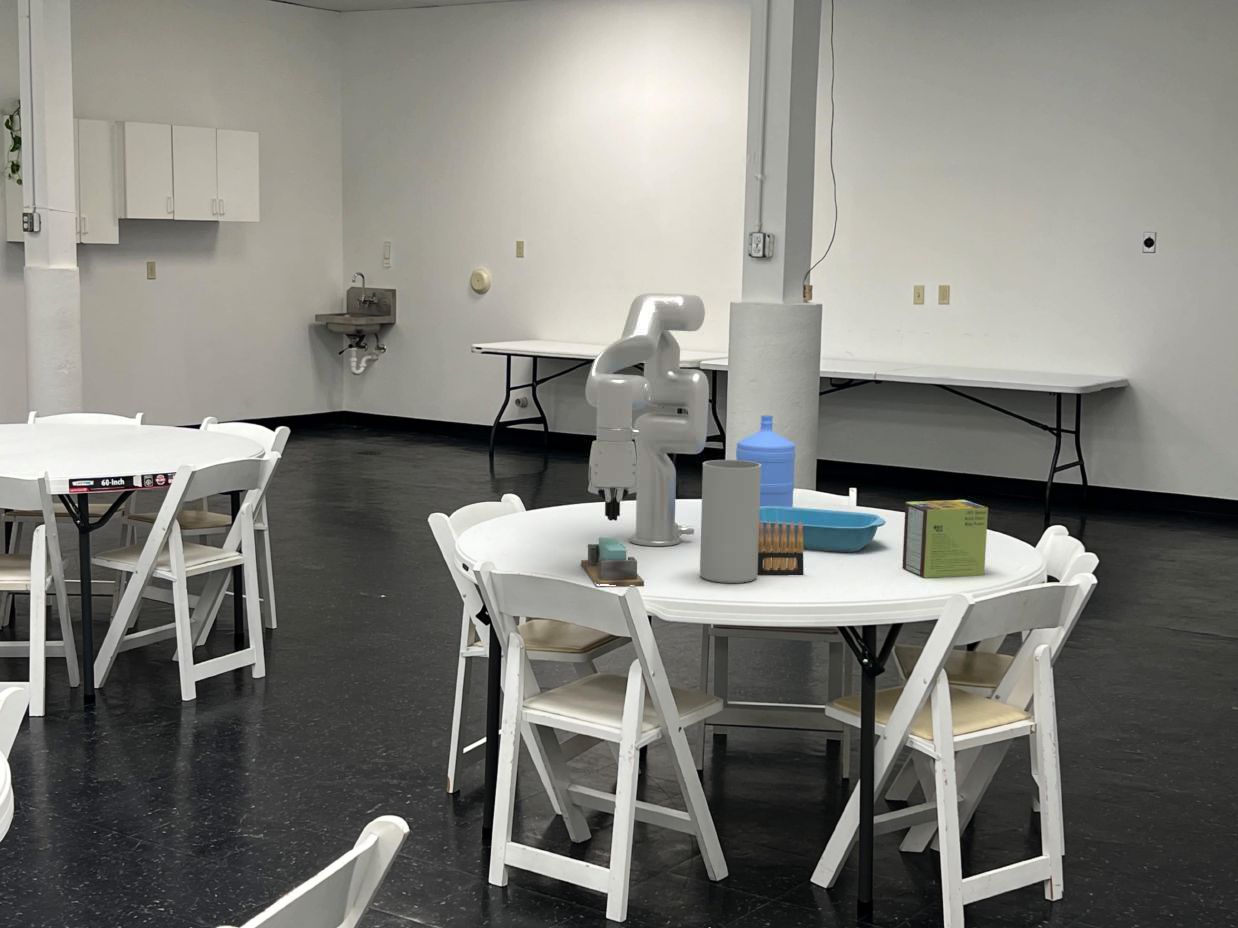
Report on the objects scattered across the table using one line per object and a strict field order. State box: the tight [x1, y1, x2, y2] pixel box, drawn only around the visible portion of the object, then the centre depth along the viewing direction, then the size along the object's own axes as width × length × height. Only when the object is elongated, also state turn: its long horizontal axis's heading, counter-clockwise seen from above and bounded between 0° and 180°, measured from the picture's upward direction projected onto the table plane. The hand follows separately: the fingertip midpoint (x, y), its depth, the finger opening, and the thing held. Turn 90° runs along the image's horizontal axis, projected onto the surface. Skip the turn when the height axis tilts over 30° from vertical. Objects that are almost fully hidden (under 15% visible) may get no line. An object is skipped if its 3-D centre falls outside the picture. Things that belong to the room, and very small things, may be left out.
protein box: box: [902, 499, 989, 579], centre depth 314 cm, size 10×15×16 cm
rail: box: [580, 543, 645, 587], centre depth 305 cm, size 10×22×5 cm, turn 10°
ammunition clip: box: [757, 521, 805, 576], centre depth 308 cm, size 11×2×12 cm, turn 94°
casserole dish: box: [759, 506, 887, 553], centre depth 345 cm, size 37×22×7 cm, turn 68°
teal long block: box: [598, 536, 627, 560], centre depth 304 cm, size 4×14×6 cm, turn 10°
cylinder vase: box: [699, 459, 761, 584], centre depth 303 cm, size 12×12×25 cm
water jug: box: [735, 414, 796, 507], centre depth 372 cm, size 16×16×28 cm
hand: (612, 519), depth 303 cm, fingers closed
